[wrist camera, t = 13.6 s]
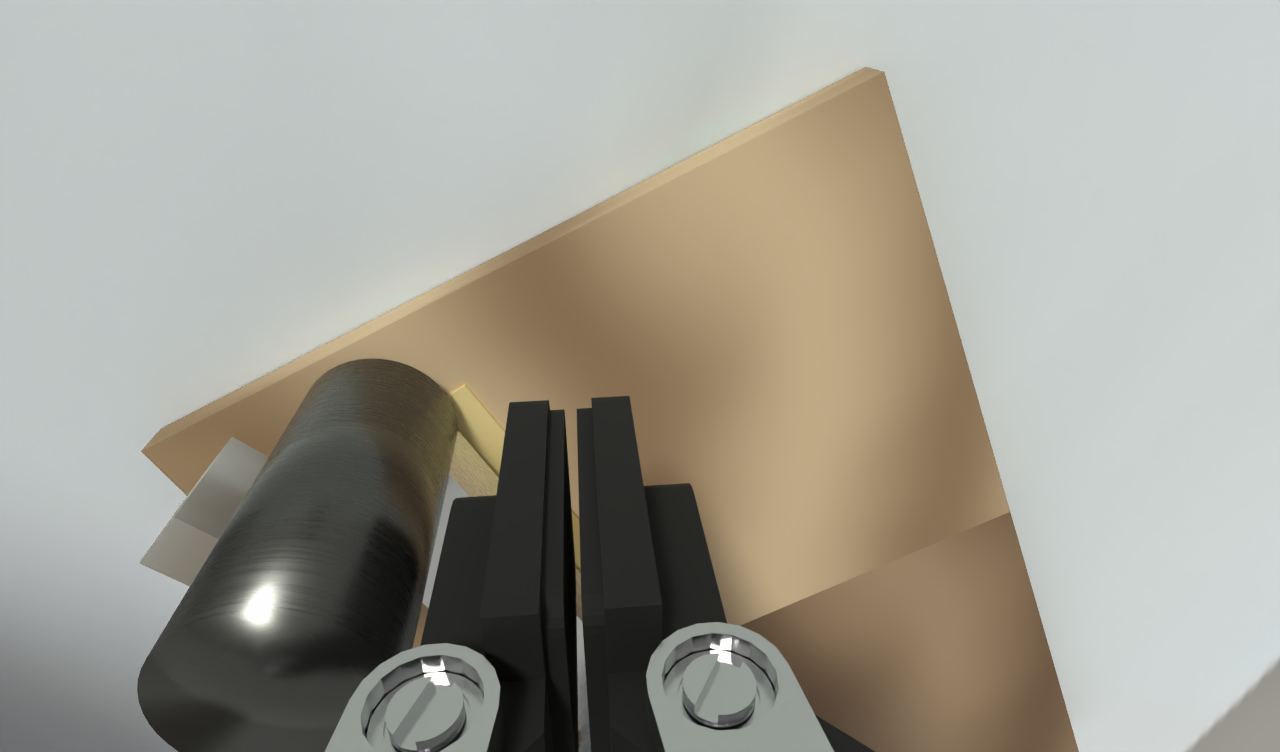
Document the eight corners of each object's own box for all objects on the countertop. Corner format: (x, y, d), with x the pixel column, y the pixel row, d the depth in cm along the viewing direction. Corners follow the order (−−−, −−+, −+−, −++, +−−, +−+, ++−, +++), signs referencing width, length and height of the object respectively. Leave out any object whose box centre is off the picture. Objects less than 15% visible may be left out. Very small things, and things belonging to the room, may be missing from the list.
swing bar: (697, 691, 18) (756, 982, 13) (600, 737, 18) (619, 1036, 13) (393, 330, 13) (280, 573, 7) (268, 406, 13) (78, 687, 8)
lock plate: (626, 895, 24) (636, 1014, 21) (160, 428, 14) (67, 535, 12) (1062, 729, 22) (1135, 836, 20) (865, 66, 13) (954, 90, 10)
